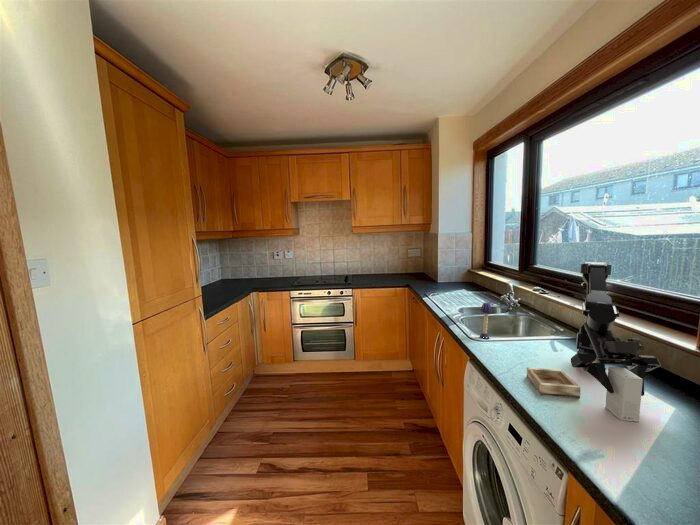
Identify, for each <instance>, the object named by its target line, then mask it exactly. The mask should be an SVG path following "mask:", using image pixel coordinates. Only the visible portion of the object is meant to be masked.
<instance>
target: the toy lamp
mask: <svg viewBox="0 0 700 525" xmlns="http://www.w3.org/2000/svg"><path fill="white" fill-rule="evenodd" d="M480 312H482V313H483V325H482V326H483V328H482V330H483V331H482V333H481V334H480V335H479V338H480V337H481V339H482V338H483V337H484V338H486V337H487V338H489V337H490V335H489V334H488V323H489V322H488V321H489V314H492V313H493V310H492V305H491V303H490V302H483V303H482V305H481V308H480ZM490 338H491V337H490Z"/></svg>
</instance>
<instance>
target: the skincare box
mask: <svg viewBox="0 0 700 525" xmlns="http://www.w3.org/2000/svg"><path fill="white" fill-rule="evenodd" d="M607 376H608V378H609V380H610V383H611V385H612V387H613V390H614V393H612V394H611V393H610V392H609V391H608V390H607V389H606V394H605V404H604V405H605V408H606V409H607V410H609V411H610V412H611V413H612V414H613V415H614V416H615V417H617V418H618V419H619V420H620V421H623V422H624V421H626V422H637V423H638V422H639V421H640V414H641V412H640V411H641V403H642V396H641V393H642V382H643V379H642V378H640V377H638V376H637V375H635V374H634V373H632V372H631V371H629V370H628V368H625V367H612V366H609V367H608V371H607Z"/></svg>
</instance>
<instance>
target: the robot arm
mask: <svg viewBox="0 0 700 525" xmlns="http://www.w3.org/2000/svg"><path fill="white" fill-rule="evenodd" d="M579 269H580V270H579V271H580V272H579V274H580V275H581V274H582V275H581V276H582V278H581V279H582V281H583V283H585V284H586V295H585V300H584V301H583V302H582V305H581V306H582V307H581V314H582V315H583V316H584V317H585V323H583V325H582V326H581V327H580V329H579V332H577V334H576V344H575V345H576V350H577V351H576V353H575V354H574V355H573V356H571V358H570V364H571V366H572V368H578V369H582V370H583V371H584V372H588V373H589V375H591V376H592V377H594V378H595V380H596V381H598V382H599V383H600V385H601V386H603V387H604V388H605V390H606V391H607V390H608V391H609V392H610V393H611V394H612V393H614V390H613V387H612V385H611V383H610V380H609V378H608V373H607V372H606V370H607V368H606V365H607V366H623V367H625V366H626V367H627V370H629V371H631V372H632V373H634V374H635V375H637V376H638V377H640V378H642V379H643V382H642V393H641V397H642V396H645V374H646V372H647V373H648V372H651V371H653V370H656V369H657V368H660V367H662V365H661V364H662V363H661V362H660V360H659V359H658V358H657V357H656V356H654V355H646V354H645V355H644V354H639V352H644V351H645V347H644V344H643V342H642V341H641V339H640V338H628V339H627V341H626V340H624V341H623V340H621V339H620V338H619V337H616V336H615V335H614V332H613V330H612V329H613V327H614V324H615V321H616V320H617V318H619V317H620V312H619V309H617V307H616V305H613V298H612V297H611V296H610V295H609V294H607V283H606V281H607V280H608V278H609V276H611V275H612V265H611V264H608V263H607V262H606V261H605V262H602V261H585V262H584V263H580V268H579ZM630 354H633V355H635V356H633V357H632V358H629V357H630V356H631V355H630Z"/></svg>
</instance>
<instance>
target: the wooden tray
mask: <svg viewBox="0 0 700 525" xmlns="http://www.w3.org/2000/svg"><path fill="white" fill-rule="evenodd" d="M526 378H527V380H529V382H530V384H531V385H532V387H534V388H535V390H536V391H537V392H538V394H539V395H540V396H547V397H557V398H568V399H569V398H570V399H580V397H581V387H580V386H579V384H578V383H576V382H575V381H574V380H573V379H572V377H570V376H569V375H568V374H567V373H566V372H565V371H564V370H563V369H554V368H540V367H526Z"/></svg>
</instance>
